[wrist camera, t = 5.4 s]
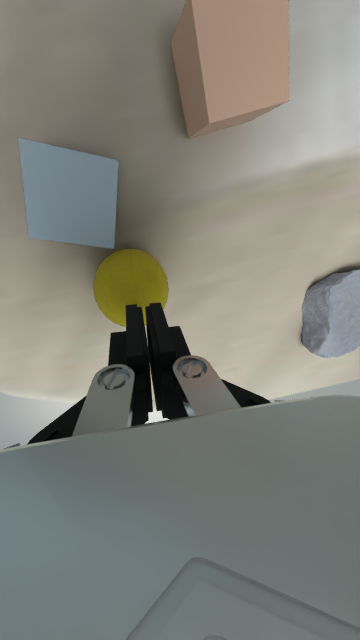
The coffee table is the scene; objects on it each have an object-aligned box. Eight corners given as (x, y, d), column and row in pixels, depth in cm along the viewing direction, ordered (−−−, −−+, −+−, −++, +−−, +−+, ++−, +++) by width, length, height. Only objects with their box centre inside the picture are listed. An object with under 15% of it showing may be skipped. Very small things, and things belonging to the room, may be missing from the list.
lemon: (84, 274, 21) (67, 316, 14) (125, 225, 20) (127, 245, 13) (134, 310, 24) (140, 359, 17) (172, 268, 22) (195, 303, 16)
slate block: (43, 150, 16) (17, 137, 12) (118, 166, 18) (118, 160, 14) (49, 226, 19) (28, 238, 14) (114, 236, 20) (114, 248, 16)
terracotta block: (170, 44, 15) (190, -10, 11) (242, 25, 16) (288, -35, 11) (188, 138, 18) (209, 123, 14) (249, 121, 18) (289, 100, 14)
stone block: (291, 278, 28) (298, 351, 32) (323, 284, 24) (326, 369, 27) (377, 252, 30) (374, 325, 33) (421, 253, 25) (413, 337, 28)
